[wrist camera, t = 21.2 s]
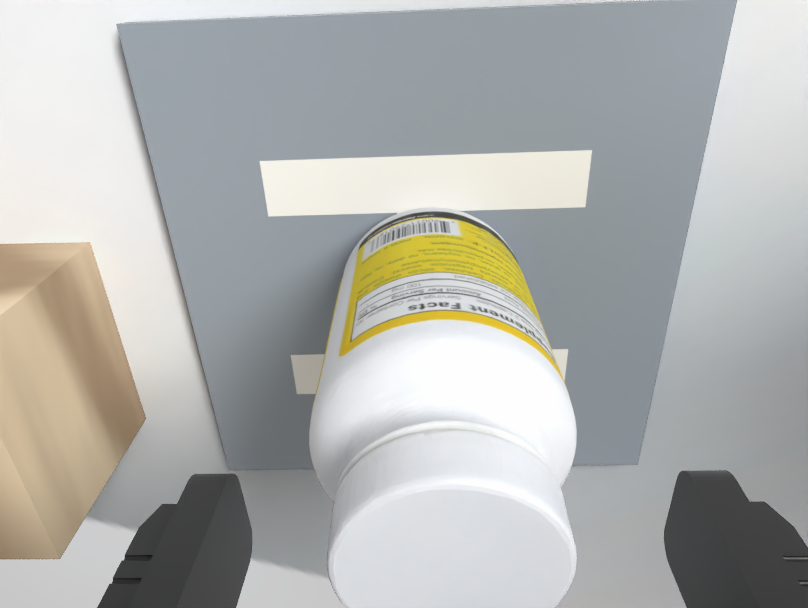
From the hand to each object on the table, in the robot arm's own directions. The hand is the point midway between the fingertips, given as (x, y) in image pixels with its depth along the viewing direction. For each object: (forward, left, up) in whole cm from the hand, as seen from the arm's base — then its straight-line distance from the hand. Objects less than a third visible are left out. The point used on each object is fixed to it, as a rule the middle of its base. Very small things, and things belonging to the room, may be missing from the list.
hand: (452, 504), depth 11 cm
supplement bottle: (0, 0, -8) cm, 8 cm away
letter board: (0, 0, -9) cm, 9 cm away
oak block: (+13, +2, -9) cm, 16 cm away
